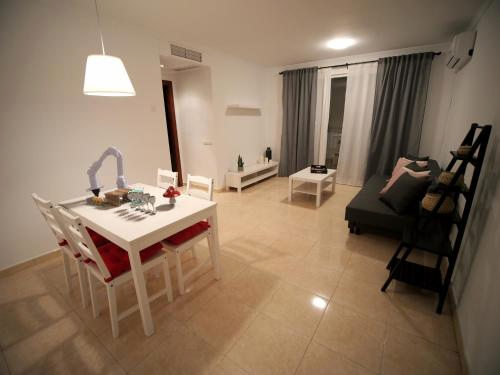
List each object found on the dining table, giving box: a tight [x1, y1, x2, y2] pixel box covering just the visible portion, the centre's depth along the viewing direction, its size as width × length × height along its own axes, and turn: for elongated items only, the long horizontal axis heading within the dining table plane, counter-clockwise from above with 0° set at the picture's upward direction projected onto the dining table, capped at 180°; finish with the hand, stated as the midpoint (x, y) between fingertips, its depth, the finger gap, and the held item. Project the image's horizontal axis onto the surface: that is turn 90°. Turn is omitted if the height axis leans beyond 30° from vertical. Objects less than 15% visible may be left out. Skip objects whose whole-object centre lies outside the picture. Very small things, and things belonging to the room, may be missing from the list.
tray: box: [85, 195, 107, 207], centre depth 186 cm, size 6×18×6 cm, turn 68°
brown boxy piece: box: [103, 188, 136, 207], centre depth 187 cm, size 17×14×10 cm
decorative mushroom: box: [162, 185, 182, 205], centre depth 182 cm, size 14×14×15 cm
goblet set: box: [127, 191, 158, 214], centre depth 170 cm, size 28×6×13 cm, turn 62°
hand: (97, 197), depth 199 cm, fingers closed
